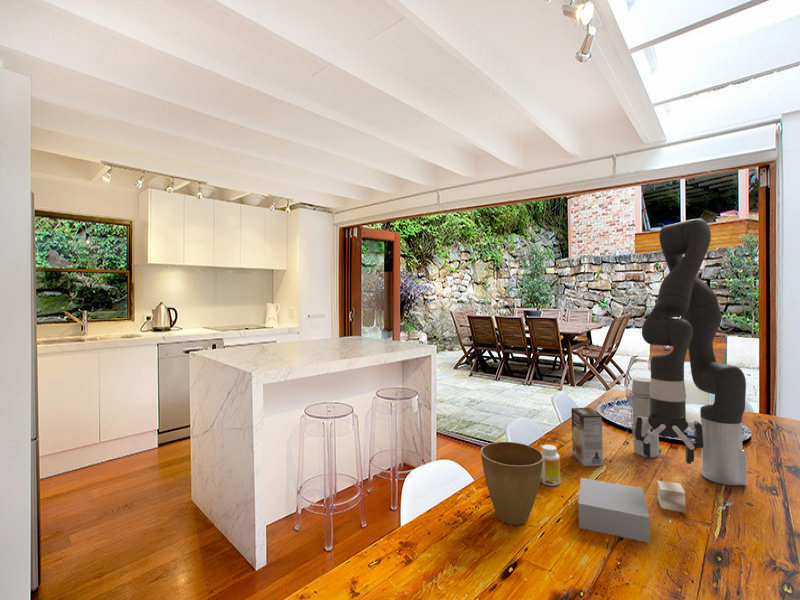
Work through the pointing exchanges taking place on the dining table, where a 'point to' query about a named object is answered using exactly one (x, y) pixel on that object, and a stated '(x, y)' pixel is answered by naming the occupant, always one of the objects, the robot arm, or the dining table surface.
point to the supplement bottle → (550, 466)
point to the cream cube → (671, 496)
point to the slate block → (613, 509)
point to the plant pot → (512, 479)
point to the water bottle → (642, 415)
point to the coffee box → (587, 436)
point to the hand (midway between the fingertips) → (667, 459)
